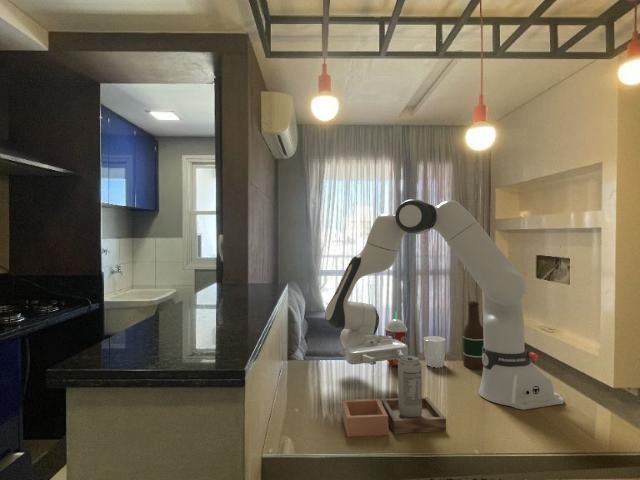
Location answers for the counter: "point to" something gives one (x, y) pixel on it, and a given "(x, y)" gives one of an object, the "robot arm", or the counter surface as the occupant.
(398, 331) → the smoothie
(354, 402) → the holder
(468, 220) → the robot arm
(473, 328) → the beer bottle
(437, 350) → the white cup
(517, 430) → the counter surface
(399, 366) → the energy drink can
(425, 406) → the tray
